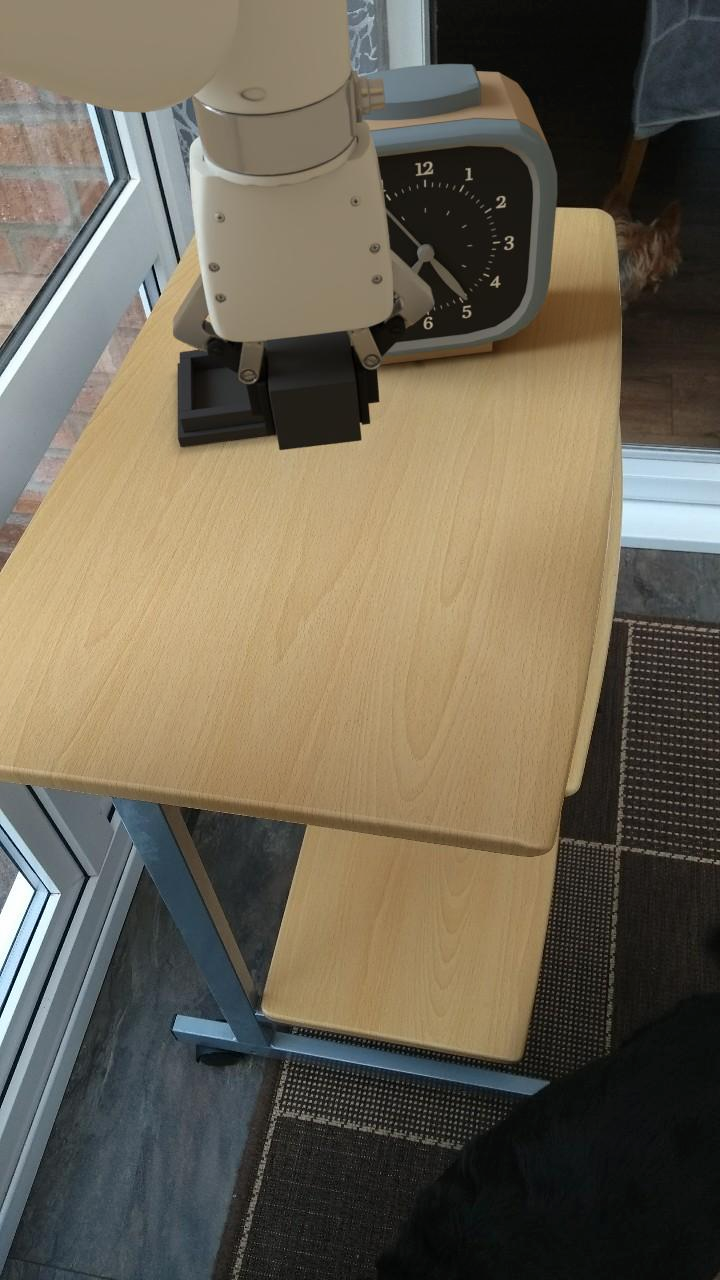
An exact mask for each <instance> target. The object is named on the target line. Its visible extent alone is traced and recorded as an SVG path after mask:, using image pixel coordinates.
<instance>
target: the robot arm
mask: <svg viewBox="0 0 720 1280" xmlns="http://www.w3.org/2000/svg"><path fill="white" fill-rule="evenodd" d="M347 2H348V1H347V0H0V75H1V76H2V77H3V76H4V77H7V78H11V79H13V80H16V81H19V82H22V83H25V84H28V85H31V86H34V87H36V88H39V89H42V90H45V91H48V92H51V93H54V94H58V95H60V96H63V97H65V98H69V99H71V100H75V101H79V102H81V103H85V104H87V105H91V106H94V107H97V108H101V109H105V110H109V111H115V112H121V113H149V112H157V111H162V110H167V109H169V108H172V107H174V106H177V105H179V104H182V103H185V102H186V101H187V100H189V99H191V100H192V105H193V110H194V115H195V120H196V125H197V131H198V136H197V137H196V138H195V139H194V140H193V142H192V143H191V145H190V147H189V184H190V198H191V206H192V215H193V223H194V233H195V241H196V247H197V255H198V261H199V267H200V268H199V269H200V273H199V275H198V277H197V278H196V280H195V282H194V283H193V285H192V286H191V287H190V290H189V292H188V293H187V295H186V296H185V298H184V299H183V301H182V303H181V304H180V305H179V308H178V310H177V311H176V313H175V315H174V316H173V319H172V335H173V337H174V338H175V339H176V340H177V341H180V342H181V343H183V344H186V345H188V346H189V347H192V348H195V350H200V351H201V350H203V351H205V352H207V353H208V355H209V356H210V357H211V358H212V359H214V360H215V361H217V362H219V363H220V364H222V365H224V366H226V367H227V368H229V369H231V370H232V371H234V372H236V373H237V374H238V377H239V380H240V381H241V382H243V383H245V384H246V386H247V391H248V396H249V401H250V406H251V411H252V416H253V417H261V416H263V418H264V423H265V428H266V434H267V435H266V437H273V436H276V434H275V433H276V428H275V423H274V417H273V411H272V406H271V400H270V395H269V385H268V368H267V356H265V353H264V345H265V341H266V340H272V339H280V338H289V337H298V336H306V335H314V334H322V333H330V332H339V331H347V334H348V336H349V338H350V340H351V342H352V344H353V346H351V350H352V357H353V364H354V371H355V378H356V387H357V397H358V408H359V418H360V424H361V425H362V426H364V425H371V415H370V405H369V404H375V403H380V391H379V389H380V388H379V376H378V375H379V374H378V368H380V366H381V363H382V356H383V355H384V354H385V353H386V352H387V351H388V350H389V349H390V348H391V347H392V346H393V345H394V344H395V343H396V342H397V341H398V340H399V339H400V338H401V337H402V336H403V335H404V334H405V331H406V328H408V327H409V326H410V325H413V324H414V323H416V322H417V321H418V320H419V319H420V318H422V317H423V316H424V315H425V314H426V313H428V312H429V311H430V310H431V309H432V308H433V307H434V298H433V294H432V289H431V287H430V286H429V285H428V284H427V283H426V282H425V281H424V280H423V279H422V278H421V277H420V276H419V275H418V274H417V273H415V272H414V271H413V270H412V269H411V268H410V267H409V266H408V265H407V264H406V263H405V262H404V261H403V260H402V259H401V258H400V257H399V256H398V255H397V254H396V253H395V252H394V251H392V250H391V249H390V242H389V232H388V224H387V216H386V208H385V200H384V192H383V186H382V181H381V175H380V169H379V163H378V158H377V154H376V149H375V145H374V142H373V138H372V135H371V131H370V128H369V126H368V124H367V123H366V122H365V121H364V120H362V115H368V114H370V111H374V110H382V109H385V94H384V84H383V79H382V78H378V79H370V80H367V77H359V74H358V73H359V72H358V70H357V69H356V70H352V56H351V43H350V30H349V29H350V27H349V16H348V15H349V14H348V3H347ZM358 77H359V78H358ZM393 291H394V292H395V293H396V294H397V295H398V296H399V298H398V299H397V300H396V302H395V303H394V304H393ZM208 316H209V320H210V321H208V320H207V318H208Z"/></svg>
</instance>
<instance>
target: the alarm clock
mask: <svg viewBox="0 0 720 1280" xmlns="http://www.w3.org/2000/svg"><path fill="white" fill-rule="evenodd" d="M359 77H367V80H370V79H378V78H382V79H383V84H384V94H385V109H382V110H374V111H370V114H368V115H362V120H364V121H365V122H366V123H367V124H368V126H369V128H370V131H371V135H372V138H373V142H374V145H375V149H376V154H377V158H378V163H379V169H380V175H381V181H382V186H383V192H384V200H385V208H386V216H387V224H388V232H389V242H390V249H391V250H392V251H394V252H395V253H396V254H397V255H398V256H399V257H400V258H401V259H402V260H403V261H404V262H405V263H406V264H407V265H408V266H409V267H410V268H411V269H412V270H413V271H414V272H415V273H417V274H418V275H419V276H420V277H421V278H422V279H423V280H424V281H425V282H426V283H427V284H428V285H429V286H430V287H431V289H432V294H433V298H434V307H433V308H432V309H431V310H430V311H429V312H428V313H426V314H425V315H424V316H423V317H422V318H420V319H419V320H418V321H417V322H416V323H414V324H413V325H410V326H409V327H408V328H406V331H405V334H404V335H403V336H402V337H401V338H400V339H399V340H398V341H397V342H396V343H395V344H394V345H393V346H392V347H391V348H390V349H389V350H388V351H387V352H386V353H385V354H384V355H383V356H382V363H381V365H389V364H397V363H406V362H414V361H415V362H416V361H422V360H430V359H438V358H439V359H440V358H446V357H447V358H448V357H454V356H455V357H457V356H463V355H473V354H481V353H488V352H493V342H498V341H502V340H506V339H509V338H511V337H513V336H515V335H516V334H517V333H519V332H520V331H523V330H524V329H525V328H526V327H528V326H530V323H531V322H533V320H534V319H535V318H536V317H537V315H538V314H539V313H540V311H541V309H542V307H543V304H544V302H545V300H546V298H547V295H548V291H549V285H550V281H551V273H552V262H553V249H554V238H555V237H554V236H555V225H556V213H557V202H558V201H557V200H558V172H557V169H556V164H555V160H554V158H553V154H552V150H551V149H550V147H549V144H548V142H547V139H546V136H545V134H544V132H543V130H542V127H541V125H540V123H539V120H538V118H537V116H536V113H535V110H534V108H533V106H532V103H531V101H530V98H529V97H528V96H527V94H526V93H525V91H524V90H523V88H522V87H521V85H520V84H519V83H518V82H516V81H515V80H513V79H512V78H510V77H508V76H507V75H504V74H502V73H501V72H499V71H483V70H478V71H477V69H476V67H475V66H474V65H473V64H471V63H470V64H469V63H467V64H466V63H465V64H464V63H442V64H424V65H413V66H412V65H411V66H404V67H398V68H391V69H387V70H381V71H376V72H372V73H368V74H367V73H366V74H363V75H360V76H359V75H358V78H359ZM398 298H399V296H398V295H397V294H396V293H395V292H394V291H393V304H394V303H395V302H396V300H397V299H398ZM350 343H351V346H353V344H352V342H351V340H350ZM381 365H380V366H381Z"/></svg>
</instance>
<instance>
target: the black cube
mask: <svg viewBox="0 0 720 1280" xmlns="http://www.w3.org/2000/svg"><path fill="white" fill-rule="evenodd" d="M265 341H266V351H267V368H268V385H269V395H270V400H271V406H272V411H273V417H274V423H275V428H276V434H275V435H276V438H277V443H278V449H279V451H285V450H294V449H301V448H302V449H303V448H311V447H318V446H320V447H321V446H327V445H335V444H336V445H337V444H345V443H352V442H353V443H354V442H360V441H362V431H361V430H362V429H361V423H360V418H359V408H358V397H357V387H356V378H355V371H354V364H353V357H352V350H351V343H350V338H349V336H348V334H347V331H339V332H330V333H322V334H314V335H306V336H298V337H289V338H280V339H272V340H265Z"/></svg>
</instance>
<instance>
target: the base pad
mask: <svg viewBox="0 0 720 1280" xmlns="http://www.w3.org/2000/svg"><path fill="white" fill-rule="evenodd" d="M264 353H265V356H267V351H266V340H265V345H264ZM176 365H177V440H178V443H179V447H181V448H182V447H189V446H199V445H203V444H204V445H205V444H211V443H220V442H226V441H236V440H242V439H250V438H258V437H265V436H266V437H267V434H266V428H265V423H264V418H263V416H261V417H253V416H252V411H251V406H250V401H249V396H248V391H247V386H246V384H245V383H243V382H241V381H240V380H239V377H238V374H237V373H236V372H234V371H232V370H231V369H229V368H227V367H226V366H224V365H222V364H220V363H219V362H217V361H215V360H214V359H212V358H211V357H210V356H209V355H208V353H207V352H205V351H203V350H201V351H200V350H198V349H194V350H186V351H185V350H184V351H180V352H179V362H178V363H177V364H176ZM275 435H277V434H276V433H275Z"/></svg>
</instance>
